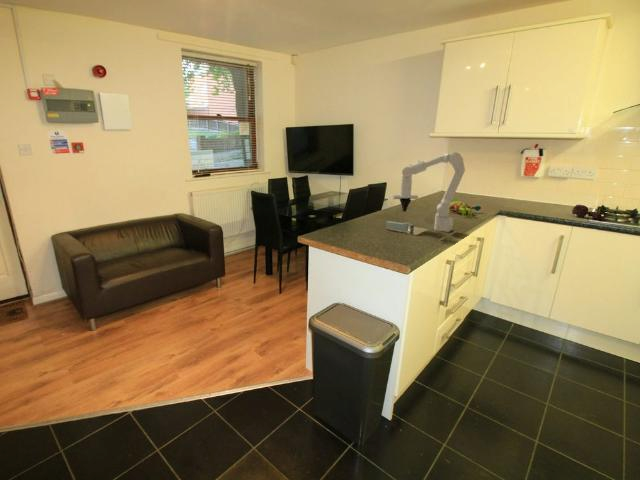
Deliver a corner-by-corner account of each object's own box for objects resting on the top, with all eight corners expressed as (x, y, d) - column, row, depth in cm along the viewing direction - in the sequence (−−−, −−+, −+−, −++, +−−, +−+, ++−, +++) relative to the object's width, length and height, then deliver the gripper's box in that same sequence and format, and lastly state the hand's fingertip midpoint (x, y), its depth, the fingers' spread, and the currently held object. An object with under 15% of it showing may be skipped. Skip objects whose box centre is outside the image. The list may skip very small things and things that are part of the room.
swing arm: (416, 231, 187) (417, 223, 185) (414, 232, 183) (414, 225, 182) (388, 227, 195) (388, 219, 194) (385, 228, 192) (386, 221, 190)
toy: (453, 208, 257) (455, 198, 255) (487, 215, 234) (489, 203, 232) (432, 211, 245) (434, 200, 243) (467, 218, 222) (468, 206, 220)
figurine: (602, 223, 222) (571, 213, 234) (609, 211, 219) (577, 202, 230) (599, 225, 216) (568, 214, 227) (606, 213, 212) (574, 203, 224)
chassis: (428, 231, 193) (428, 222, 191) (416, 236, 182) (416, 227, 181) (399, 225, 204) (400, 217, 203) (387, 230, 194) (387, 222, 192)
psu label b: (414, 230, 190) (414, 230, 190) (410, 231, 188) (410, 231, 188) (404, 228, 194) (404, 228, 194) (401, 229, 191) (401, 229, 191)
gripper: (415, 186, 197) (413, 209, 201) (391, 187, 195) (390, 210, 199) (420, 188, 190) (418, 212, 194) (395, 188, 188) (394, 212, 192)
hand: (404, 211), depth 196 cm, fingers closed
